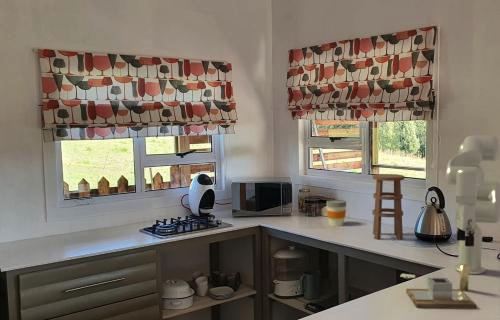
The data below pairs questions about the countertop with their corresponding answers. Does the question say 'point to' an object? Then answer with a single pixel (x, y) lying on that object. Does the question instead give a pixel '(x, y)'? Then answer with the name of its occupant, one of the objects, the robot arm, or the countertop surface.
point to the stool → (397, 208)
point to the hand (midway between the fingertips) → (465, 243)
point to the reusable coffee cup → (336, 212)
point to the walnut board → (441, 301)
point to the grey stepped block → (439, 291)
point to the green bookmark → (407, 276)
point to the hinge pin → (464, 277)
